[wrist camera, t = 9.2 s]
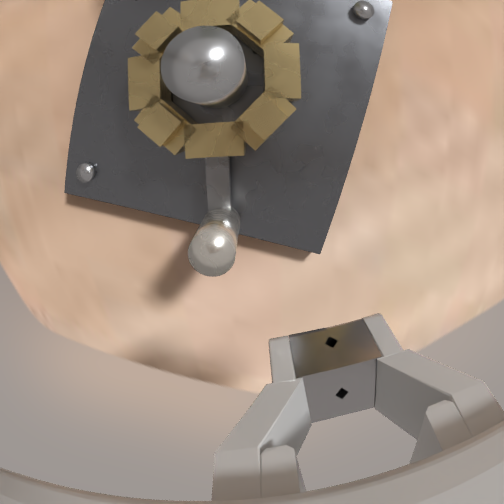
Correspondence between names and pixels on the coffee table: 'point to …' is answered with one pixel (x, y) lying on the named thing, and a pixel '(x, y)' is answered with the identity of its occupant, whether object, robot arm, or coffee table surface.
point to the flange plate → (231, 117)
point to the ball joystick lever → (222, 133)
